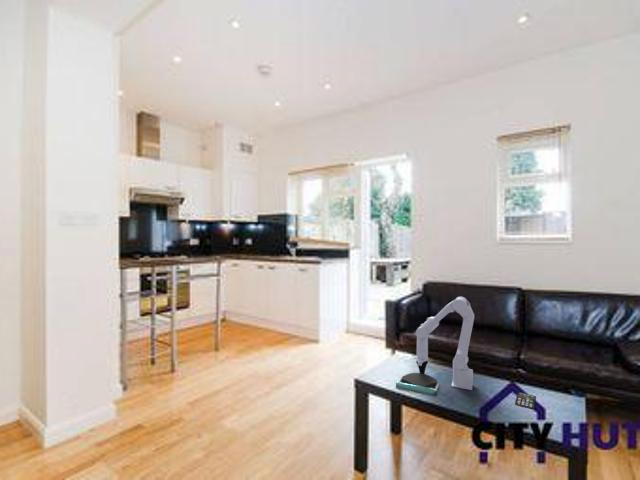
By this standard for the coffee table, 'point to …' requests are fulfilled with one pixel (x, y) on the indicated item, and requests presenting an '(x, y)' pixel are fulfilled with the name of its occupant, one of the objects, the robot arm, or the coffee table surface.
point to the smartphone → (525, 400)
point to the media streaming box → (419, 380)
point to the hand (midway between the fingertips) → (422, 374)
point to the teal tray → (417, 387)
